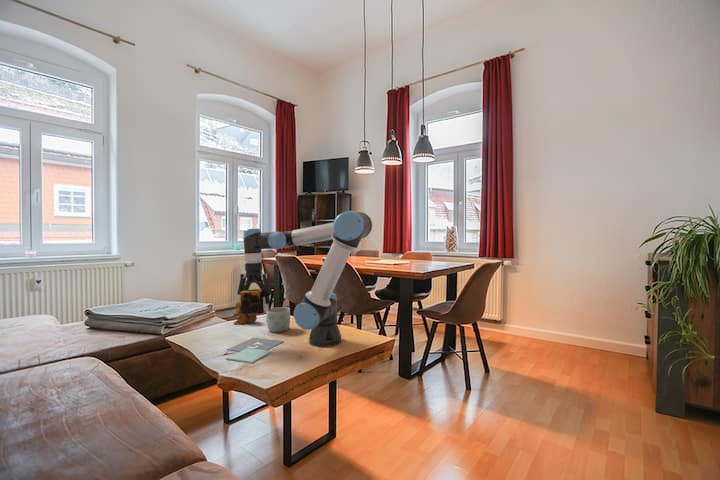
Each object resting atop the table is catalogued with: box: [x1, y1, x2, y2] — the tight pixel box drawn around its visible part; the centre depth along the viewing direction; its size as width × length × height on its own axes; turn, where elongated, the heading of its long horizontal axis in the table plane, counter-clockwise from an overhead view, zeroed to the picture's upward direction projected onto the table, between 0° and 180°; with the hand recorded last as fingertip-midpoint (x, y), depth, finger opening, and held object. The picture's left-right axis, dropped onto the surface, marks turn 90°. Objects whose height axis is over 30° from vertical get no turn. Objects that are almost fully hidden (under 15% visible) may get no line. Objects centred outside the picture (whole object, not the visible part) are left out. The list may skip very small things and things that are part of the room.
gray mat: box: [226, 337, 285, 353], centre depth 164 cm, size 18×18×1 cm
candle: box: [239, 288, 271, 315], centre depth 163 cm, size 10×10×10 cm
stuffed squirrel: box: [232, 300, 258, 325], centre depth 206 cm, size 10×14×13 cm
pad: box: [226, 348, 272, 364], centre depth 150 cm, size 13×13×1 cm
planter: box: [265, 306, 291, 333], centre depth 189 cm, size 12×12×11 cm
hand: (255, 310), depth 163 cm, fingers closed on candle, 11 cm apart
